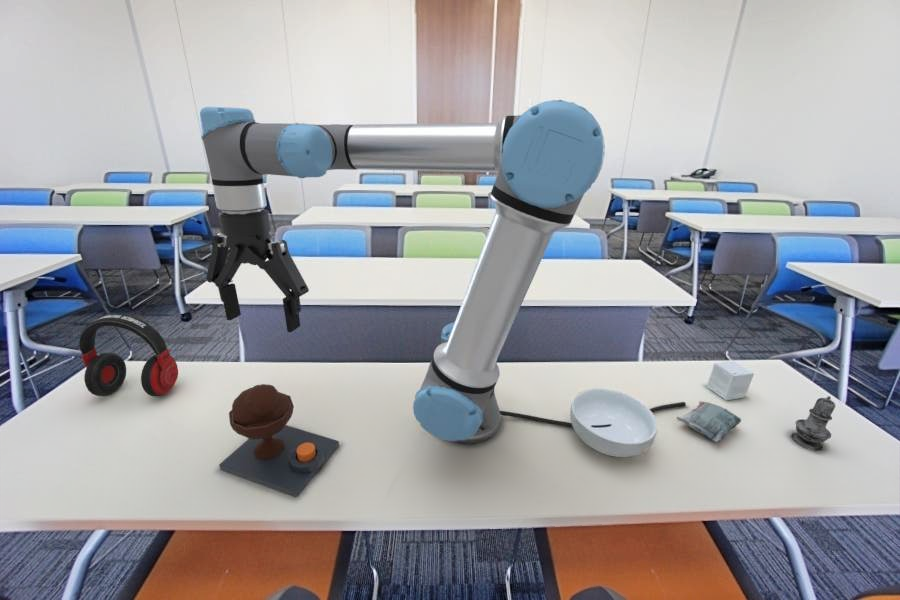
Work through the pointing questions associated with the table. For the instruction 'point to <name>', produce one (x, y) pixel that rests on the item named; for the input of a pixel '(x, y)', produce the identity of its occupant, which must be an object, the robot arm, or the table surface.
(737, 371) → the product box
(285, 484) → the scale
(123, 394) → the table surface
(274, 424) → the ice cream bowl
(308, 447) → the button
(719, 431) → the packaged food
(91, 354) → the headphones
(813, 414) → the grey chess piece
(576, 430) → the cereal bowl
